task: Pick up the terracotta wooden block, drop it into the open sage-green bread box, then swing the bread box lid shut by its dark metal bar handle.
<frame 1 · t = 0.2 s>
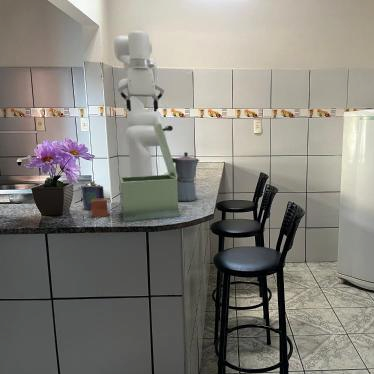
hand: (142, 111, 142), 37 cm above the countertop, tool pointing down, fingers open, 9 cm apart
flask: (94, 209, 136), on the countertop
moka pot: (184, 200, 153), on the countertop
breadbox lid: (170, 148, 126), point 23 cm above the countertop, hinge at 75.0°
block: (100, 215, 126), on the countertop
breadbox: (149, 214, 126), on the countertop
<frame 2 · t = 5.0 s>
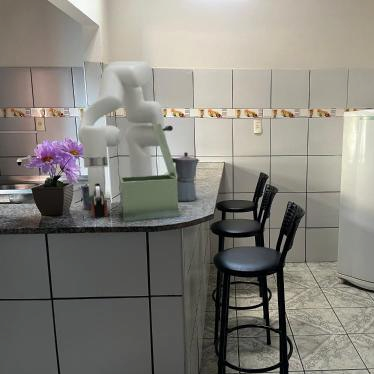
hand: (100, 214, 126), 0 cm above the countertop, tool pointing down, fingers closed on block, 5 cm apart
block: (100, 215, 126), on the countertop, touching gripper
everything else where it was.
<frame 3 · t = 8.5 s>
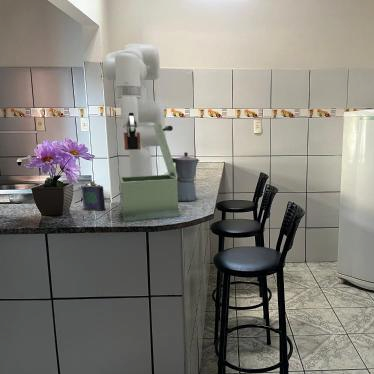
hand: (132, 148, 122), 23 cm above the countertop, tool pointing down, fingers closed on block, 5 cm apart
block: (132, 149, 122), point 23 cm above the countertop, touching gripper
everything else where it was.
when the fingers open (10 cm above the countertop, at t = 12.2 s): block drops 9 cm, resting on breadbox.
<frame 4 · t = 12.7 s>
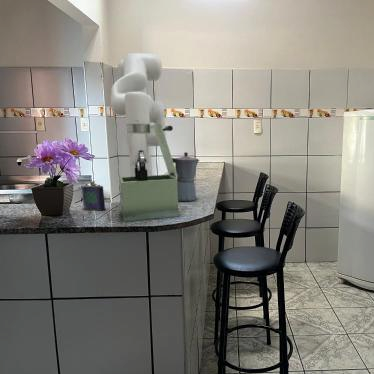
hand: (141, 180, 124), 12 cm above the countertop, tool pointing down, fingers open, 9 cm apart
block: (143, 212, 126), point 1 cm above the countertop, touching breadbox
everything else where it was.
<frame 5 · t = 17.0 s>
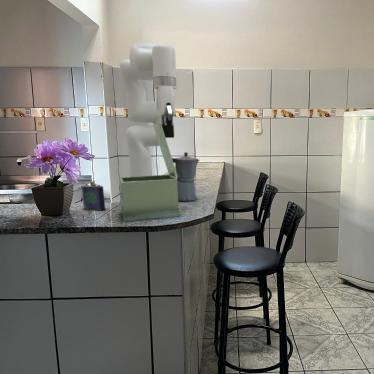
hand: (167, 137, 125), 27 cm above the countertop, tool pointing down, fingers closed on breadbox lid, 6 cm apart
breadbox lid: (170, 148, 126), point 23 cm above the countertop, hinge at 75.0°, touching gripper
everything else where it was.
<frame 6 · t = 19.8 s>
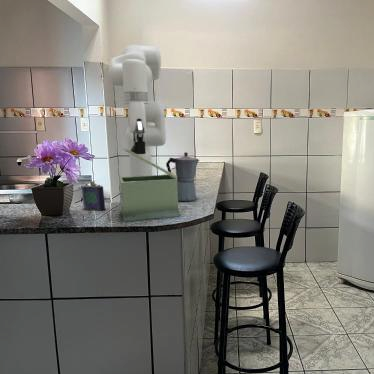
hand: (139, 153, 122), 21 cm above the countertop, tool pointing down, fingers closed on breadbox lid, 6 cm apart
breadbox lid: (152, 157, 124), point 20 cm above the countertop, hinge at 31.8°, touching gripper
everything else where it was.
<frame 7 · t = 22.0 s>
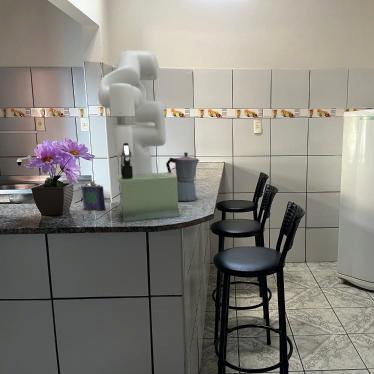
hand: (126, 176, 122), 14 cm above the countertop, tool pointing down, fingers closed on breadbox lid, 6 cm apart
breadbox lid: (145, 171, 124), point 15 cm above the countertop, hinge at -0.2°, touching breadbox, gripper
everything else where it was.
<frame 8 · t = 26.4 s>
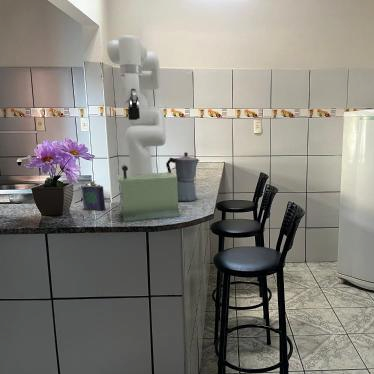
hand: (134, 119, 135), 33 cm above the countertop, tool pointing down, fingers open, 9 cm apart
breadbox lid: (145, 171, 124), point 15 cm above the countertop, hinge at -0.2°, touching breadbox
everything else where it was.
at the end: block inside the target area in the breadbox (2.0 cm from its centre), point 0.8 cm above the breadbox's base; breadbox lid at +0° (first picture: +75°); the gripper is holding nothing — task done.
